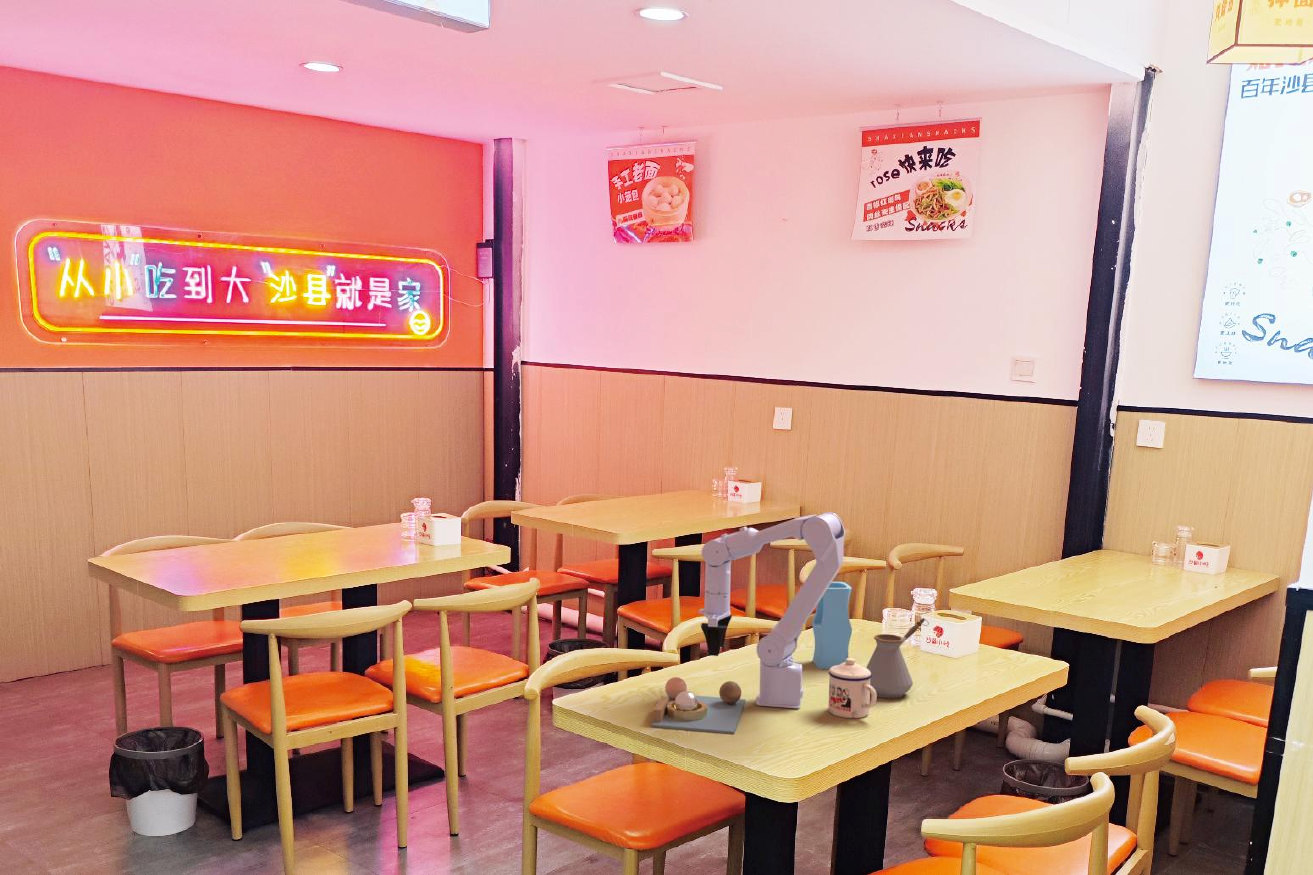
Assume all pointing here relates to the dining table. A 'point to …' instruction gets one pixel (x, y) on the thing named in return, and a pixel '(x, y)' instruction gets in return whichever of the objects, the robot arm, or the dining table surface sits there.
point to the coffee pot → (890, 665)
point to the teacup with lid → (850, 690)
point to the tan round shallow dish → (686, 712)
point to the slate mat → (717, 719)
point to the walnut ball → (730, 692)
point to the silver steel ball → (686, 701)
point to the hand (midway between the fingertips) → (716, 650)
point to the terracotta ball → (675, 687)
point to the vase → (832, 626)
